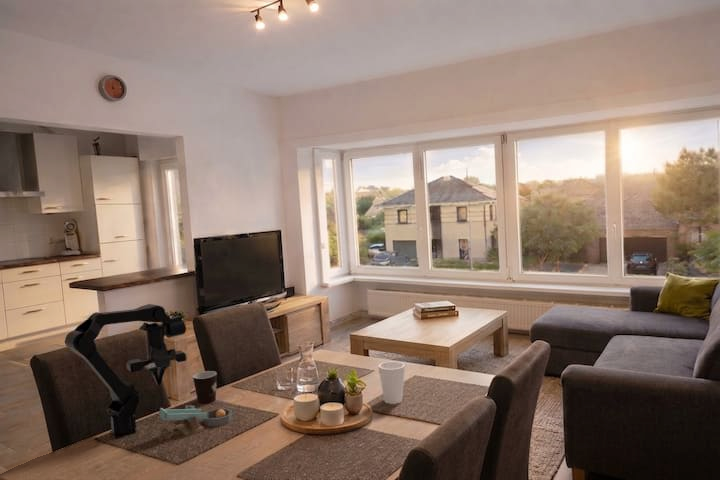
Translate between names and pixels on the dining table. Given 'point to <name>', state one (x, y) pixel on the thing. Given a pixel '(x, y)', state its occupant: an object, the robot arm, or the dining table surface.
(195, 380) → the coffee mug
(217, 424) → the bowl
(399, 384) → the foam cup
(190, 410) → the lever
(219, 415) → the ball
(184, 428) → the fulcrum
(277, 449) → the dining table surface
